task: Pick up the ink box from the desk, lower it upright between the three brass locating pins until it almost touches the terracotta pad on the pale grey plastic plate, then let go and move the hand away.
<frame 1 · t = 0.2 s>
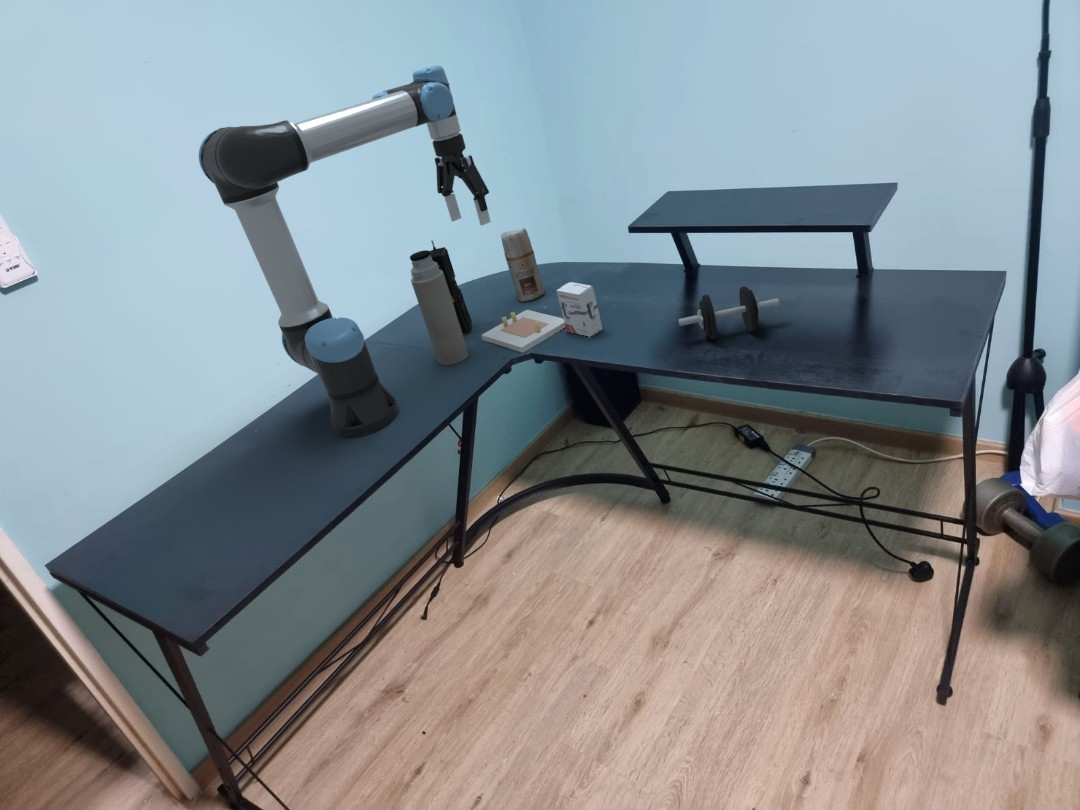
hand: (470, 221, 181), 28 cm above the table, tool pointing down, fingers open, 13 cm apart
ink box: (584, 332, 176), on the table
thermos bottle: (453, 358, 180), on the table
pin plate: (525, 332, 183), on the table
spray can: (530, 297, 205), on the table
portable radio: (461, 331, 195), on the table
dumbbell: (730, 334, 157), on the table
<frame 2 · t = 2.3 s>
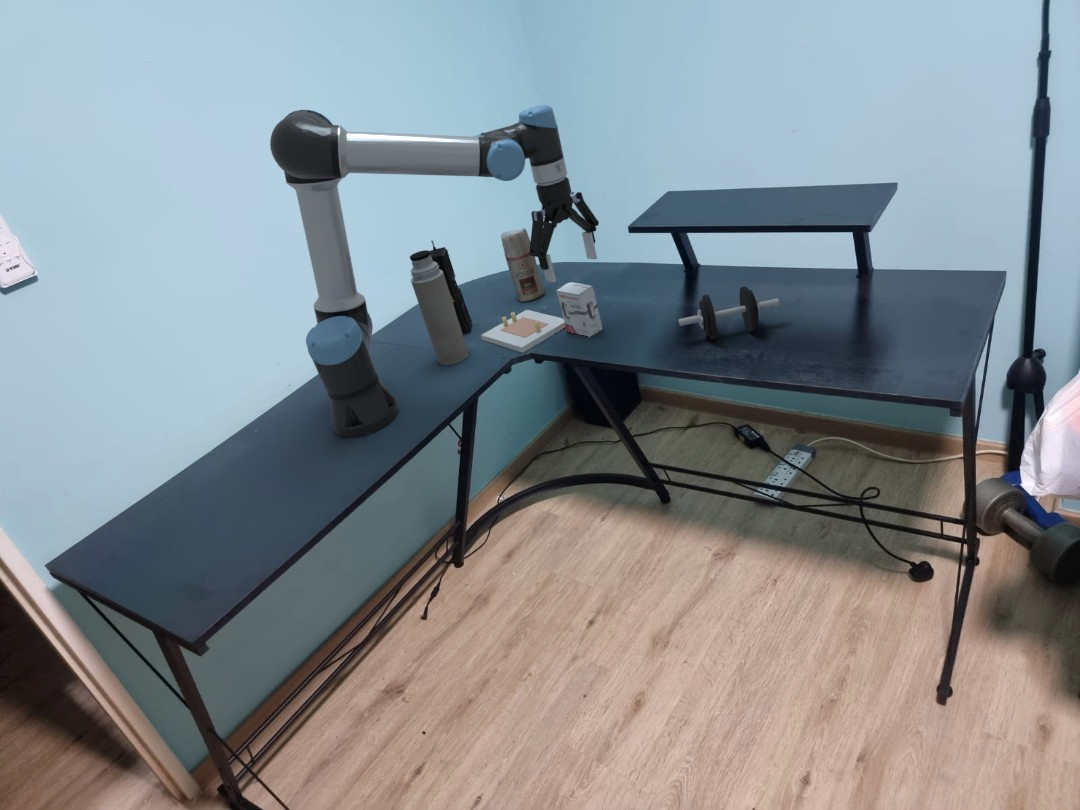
hand: (572, 269, 168), 16 cm above the table, tool pointing down, fingers open, 13 cm apart
nothing on the table moved.
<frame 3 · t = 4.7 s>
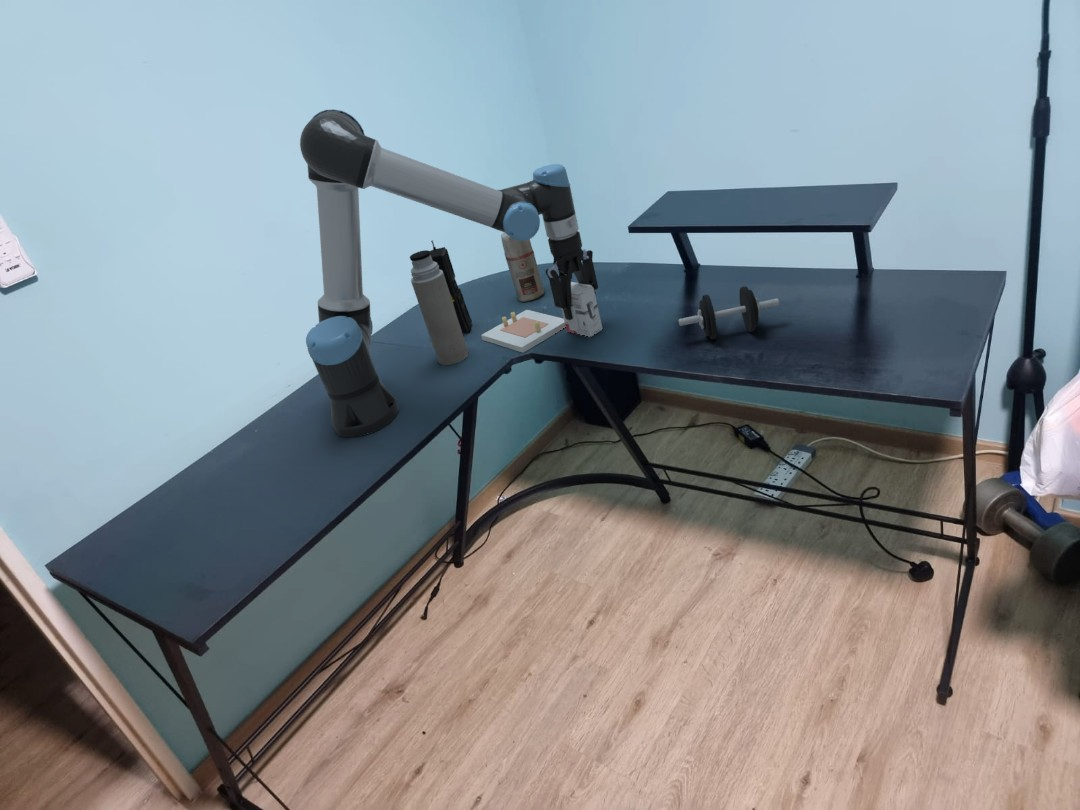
hand: (583, 324, 175), 2 cm above the table, tool pointing down, fingers closed on ink box, 5 cm apart
ink box: (584, 332, 176), on the table, touching gripper
everything else where it was.
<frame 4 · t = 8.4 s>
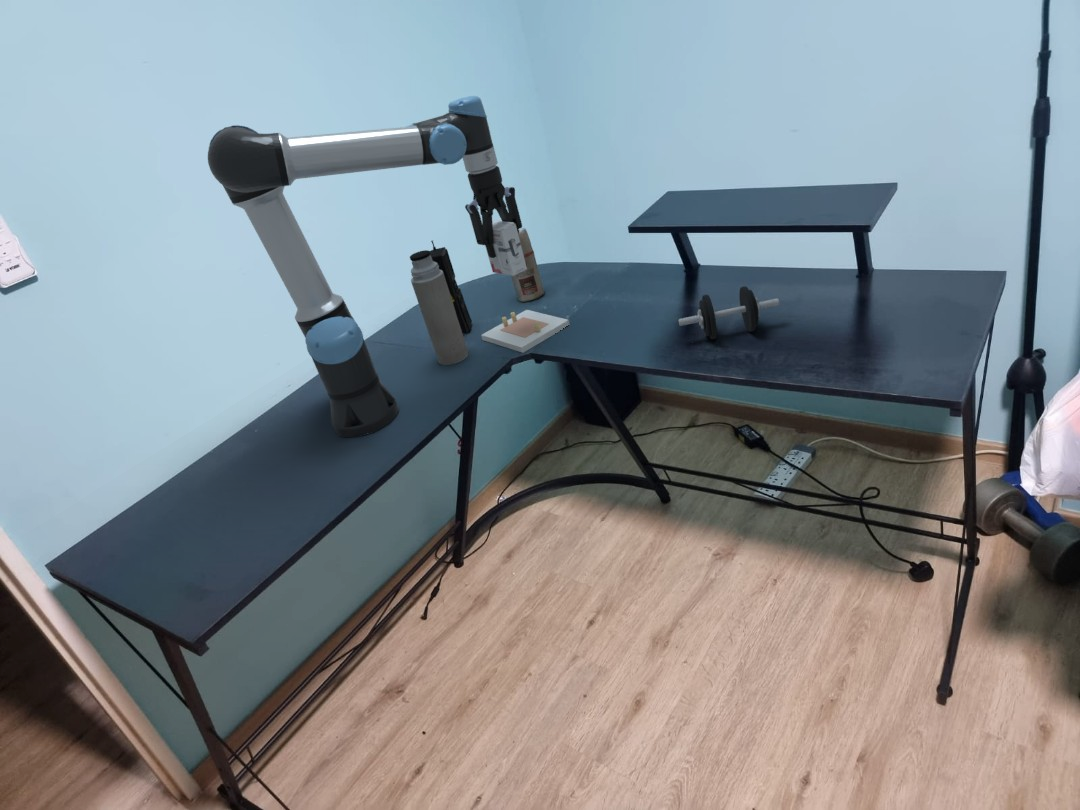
hand: (507, 264, 174), 19 cm above the table, tool pointing down, fingers closed on ink box, 5 cm apart
ink box: (509, 272, 175), point 17 cm above the table, touching gripper
everything else where it was.
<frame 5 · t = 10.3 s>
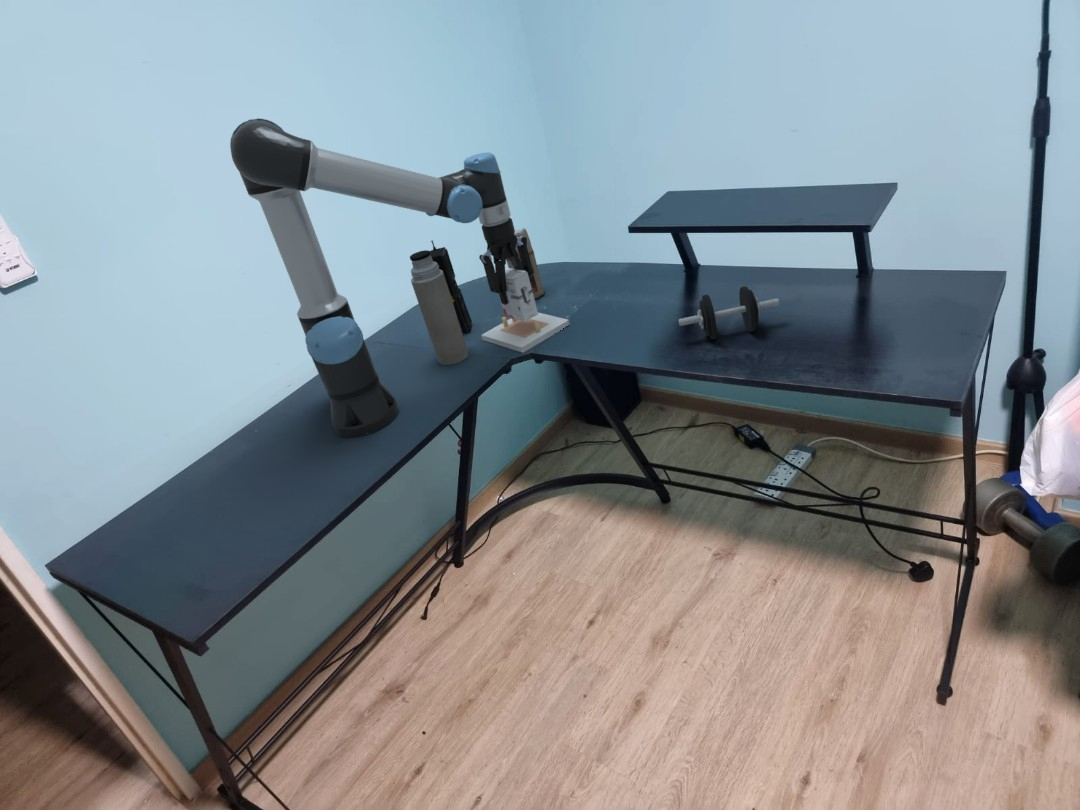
hand: (519, 309, 180), 7 cm above the table, tool pointing down, fingers closed on ink box, 5 cm apart
ink box: (521, 316, 181), point 5 cm above the table, touching gripper
everything else where it was.
when the fingers open (4 cm above the table, at t = 12.1 s): ink box stays where it is, resting on pin plate.
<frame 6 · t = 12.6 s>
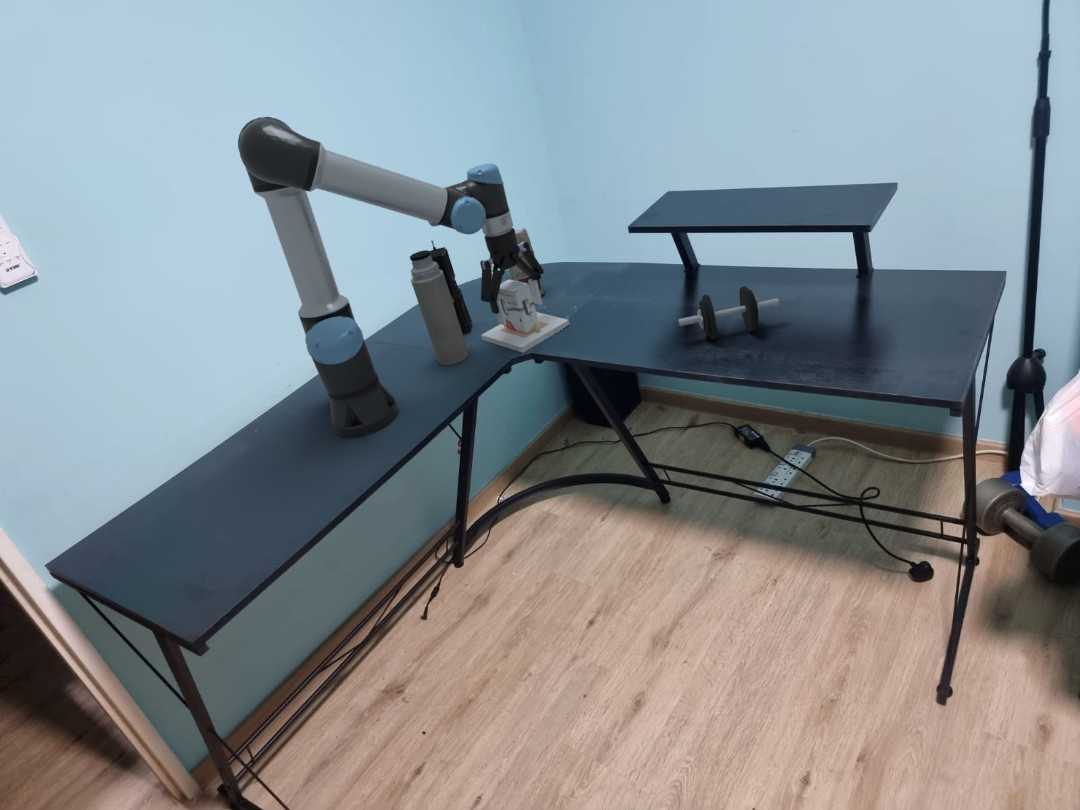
hand: (520, 313, 181), 6 cm above the table, tool pointing down, fingers open, 11 cm apart
ink box: (523, 328, 182), point 1 cm above the table, touching pin plate
everything else where it was.
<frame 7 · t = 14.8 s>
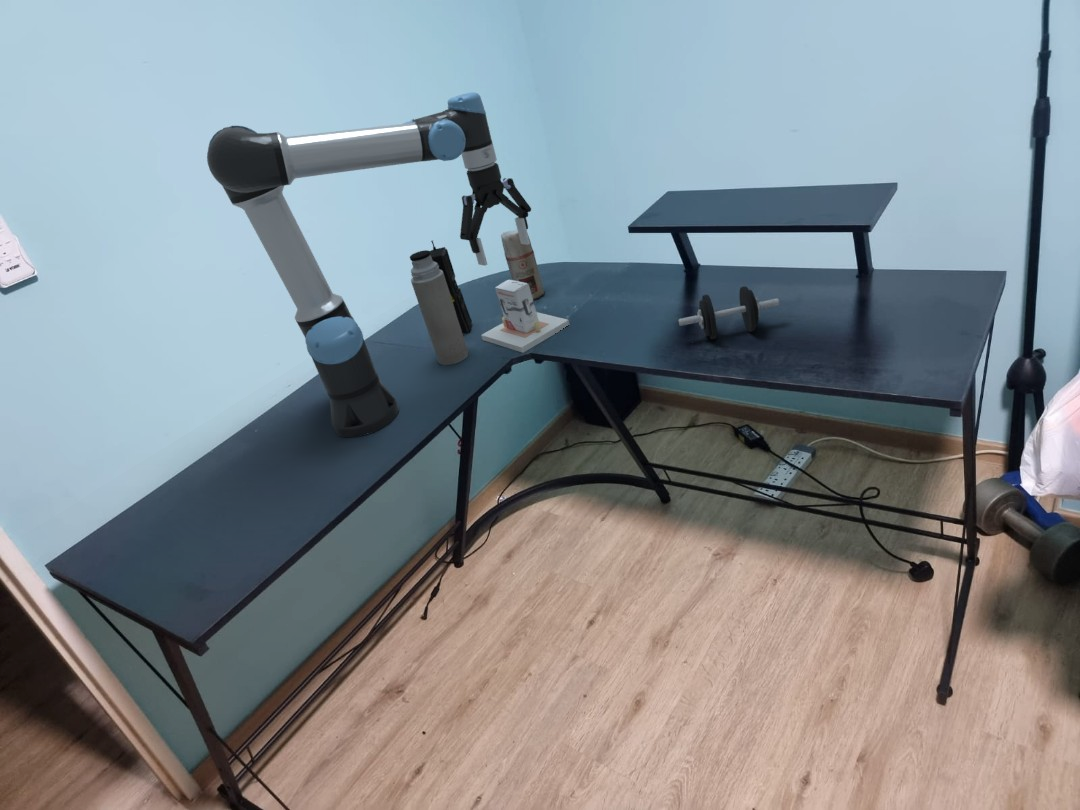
hand: (504, 254, 173), 22 cm above the table, tool pointing down, fingers open, 13 cm apart
nothing on the table moved.
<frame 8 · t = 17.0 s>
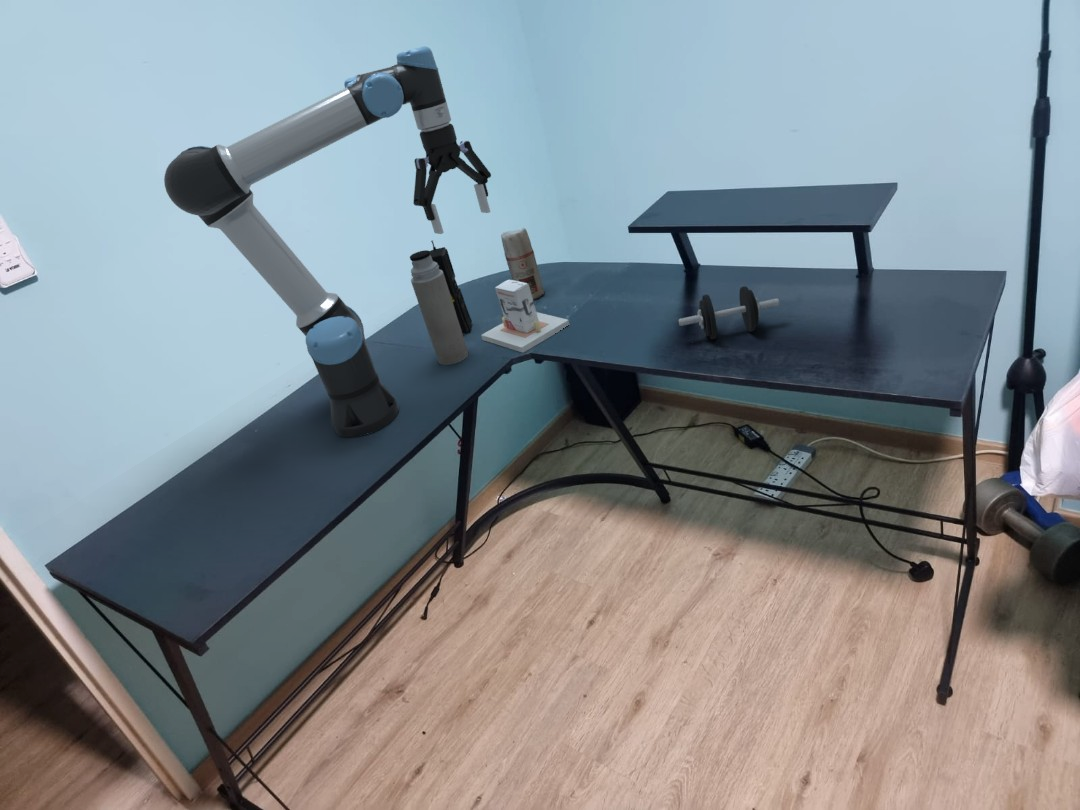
hand: (463, 222, 163), 33 cm above the table, tool pointing down, fingers open, 13 cm apart
nothing on the table moved.
at the end: ink box 0.3 cm off-centre on the pin plate, point 1.5 cm above the pin plate's base; ink box tilted 0°; the gripper is holding nothing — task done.
